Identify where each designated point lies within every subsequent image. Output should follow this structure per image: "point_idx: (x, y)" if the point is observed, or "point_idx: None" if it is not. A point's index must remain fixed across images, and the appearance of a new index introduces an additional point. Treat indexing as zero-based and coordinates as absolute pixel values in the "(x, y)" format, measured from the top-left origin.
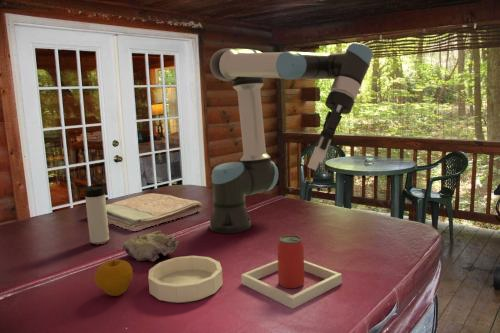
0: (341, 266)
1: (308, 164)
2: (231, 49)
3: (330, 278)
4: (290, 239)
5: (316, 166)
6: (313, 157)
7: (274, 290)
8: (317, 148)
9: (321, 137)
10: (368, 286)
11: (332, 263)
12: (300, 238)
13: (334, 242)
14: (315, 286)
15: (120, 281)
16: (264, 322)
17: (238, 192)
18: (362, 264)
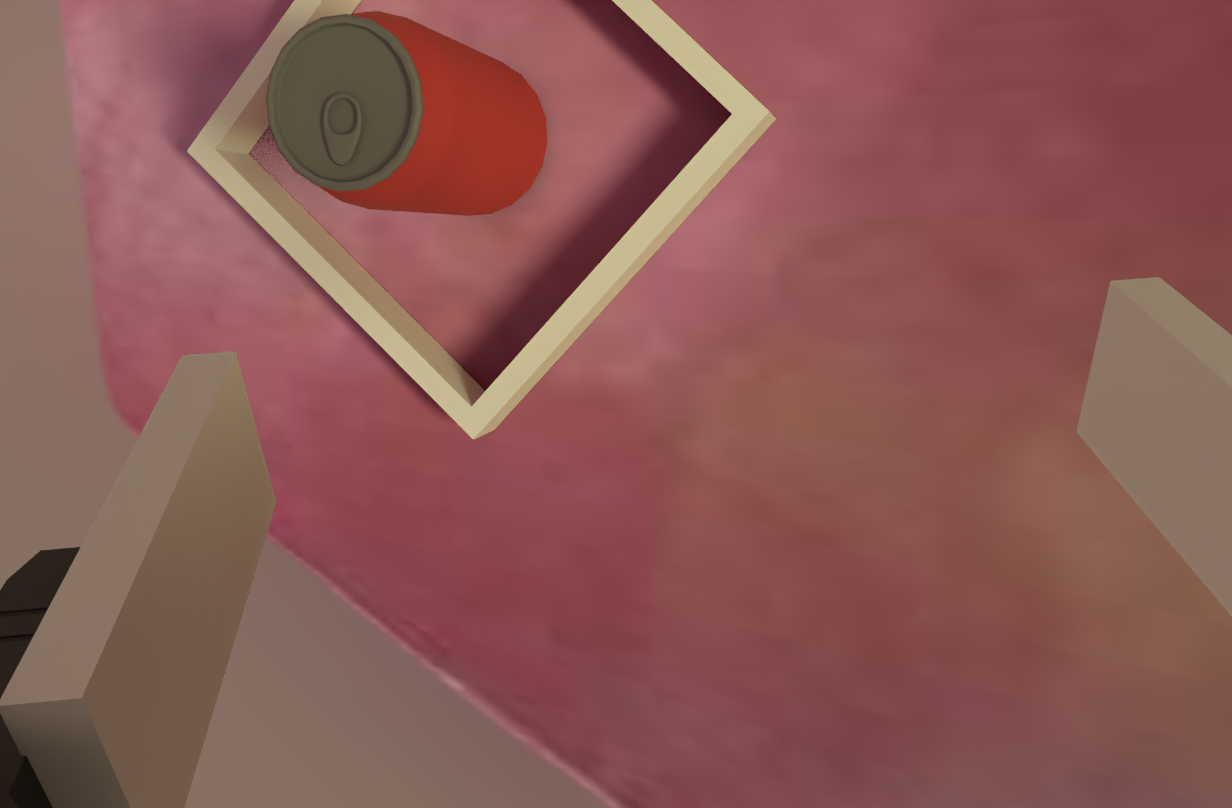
0: (728, 464)
1: (1134, 304)
2: None
3: (414, 367)
4: (354, 105)
5: (1111, 452)
6: (175, 376)
7: (263, 46)
8: (119, 492)
9: (14, 682)
10: (467, 563)
11: (777, 412)
12: (348, 183)
13: None
14: (317, 275)
15: None
16: (104, 28)
17: None
18: (760, 600)
